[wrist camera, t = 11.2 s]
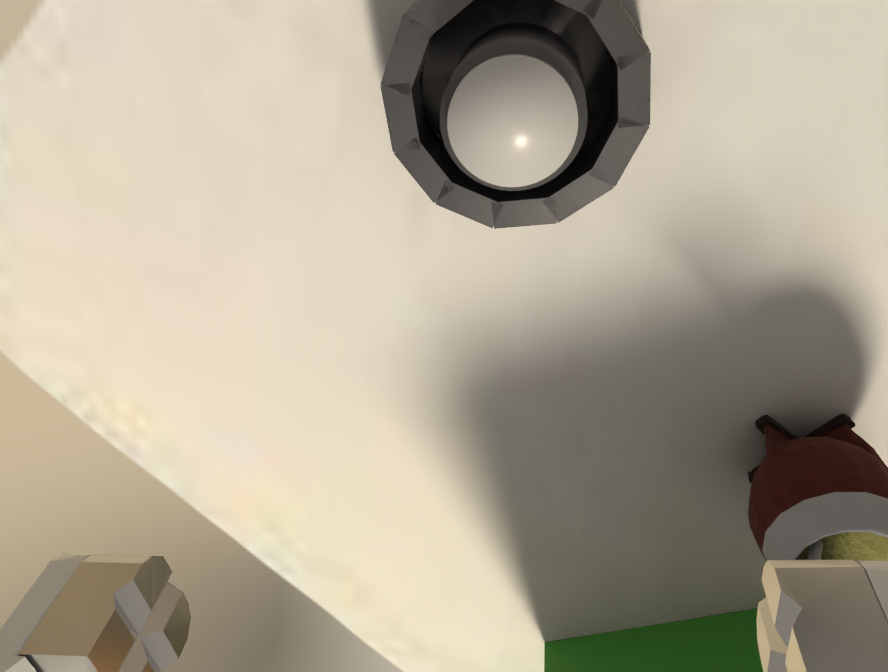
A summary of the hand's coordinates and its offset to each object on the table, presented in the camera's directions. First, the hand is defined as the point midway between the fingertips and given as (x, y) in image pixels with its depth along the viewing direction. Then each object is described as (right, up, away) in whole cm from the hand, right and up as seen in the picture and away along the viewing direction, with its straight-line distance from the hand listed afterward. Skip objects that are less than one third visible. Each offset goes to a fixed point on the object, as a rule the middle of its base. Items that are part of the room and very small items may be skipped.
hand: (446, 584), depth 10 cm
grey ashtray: (+3, +14, +21) cm, 25 cm away
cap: (+3, +14, +20) cm, 25 cm away
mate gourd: (+19, -3, +30) cm, 35 cm away
